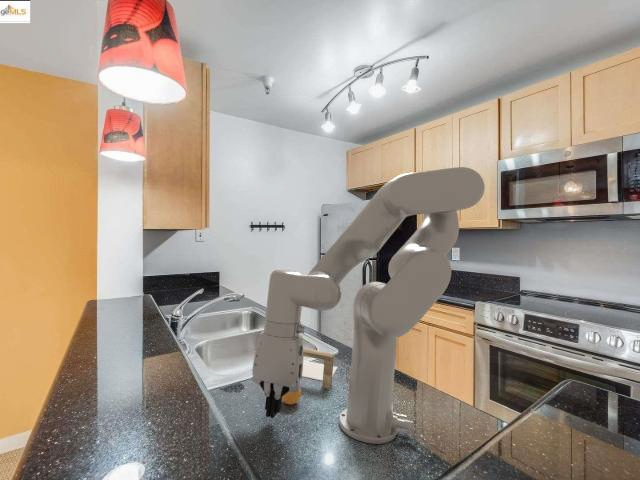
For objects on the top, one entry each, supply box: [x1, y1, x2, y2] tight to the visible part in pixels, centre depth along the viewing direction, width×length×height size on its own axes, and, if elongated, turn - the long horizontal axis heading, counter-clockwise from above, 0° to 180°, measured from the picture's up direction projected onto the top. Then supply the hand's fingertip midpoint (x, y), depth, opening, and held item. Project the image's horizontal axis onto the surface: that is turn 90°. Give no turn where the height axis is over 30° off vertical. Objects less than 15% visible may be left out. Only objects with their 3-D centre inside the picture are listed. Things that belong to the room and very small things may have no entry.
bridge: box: [303, 347, 335, 390], centre depth 87 cm, size 3×14×9 cm, turn 75°
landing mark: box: [301, 359, 339, 382], centre depth 95 cm, size 12×12×1 cm
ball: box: [282, 387, 302, 405], centre depth 75 cm, size 5×5×5 cm
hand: (272, 414), depth 65 cm, fingers closed
